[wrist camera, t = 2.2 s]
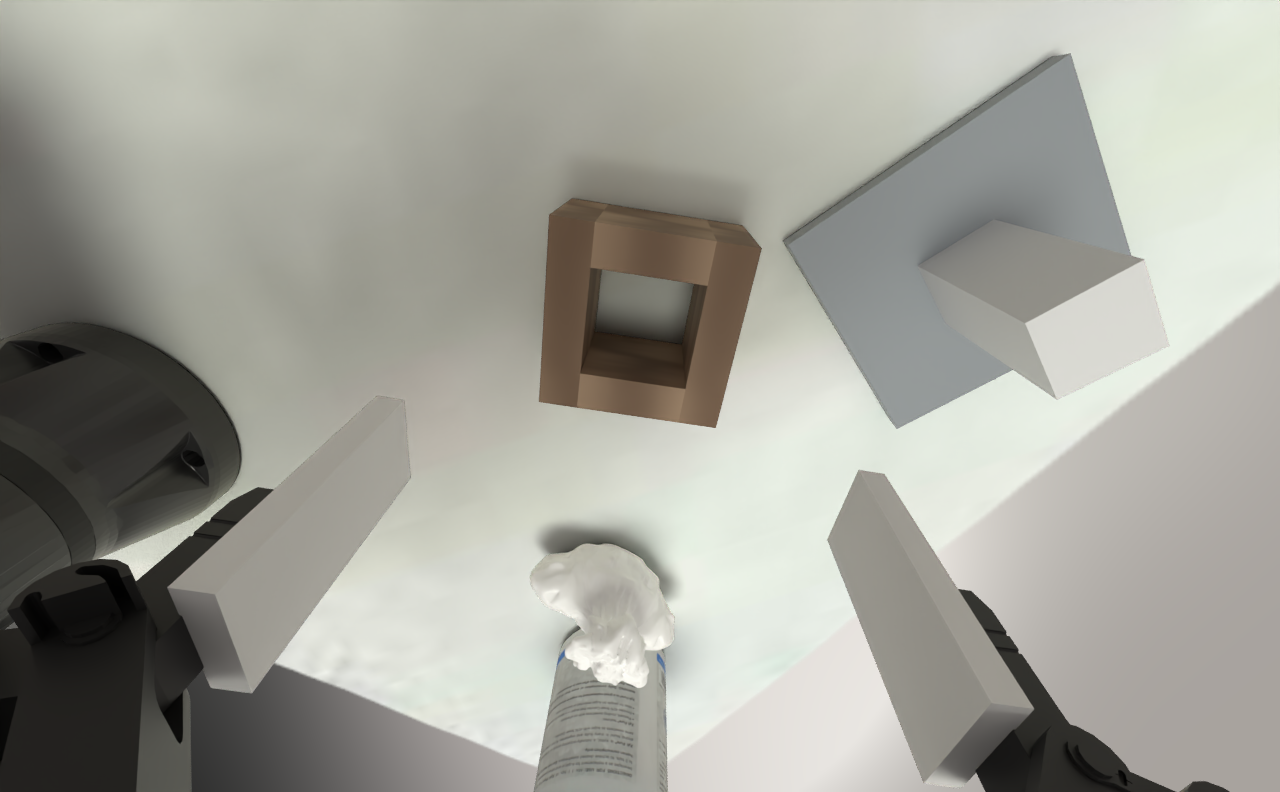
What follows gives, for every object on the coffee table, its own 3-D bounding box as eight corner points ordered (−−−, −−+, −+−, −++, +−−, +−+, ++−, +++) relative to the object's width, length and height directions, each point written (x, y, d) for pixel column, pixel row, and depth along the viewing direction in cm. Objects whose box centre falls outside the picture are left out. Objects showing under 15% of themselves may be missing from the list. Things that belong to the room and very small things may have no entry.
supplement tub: (540, 654, 46) (491, 863, 33) (602, 601, 42) (574, 813, 29) (624, 697, 48) (608, 906, 35) (689, 651, 44) (699, 865, 31)
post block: (782, 240, 27) (840, 294, 18) (1051, 57, 23) (1300, 9, 14) (889, 419, 32) (975, 529, 23) (1127, 295, 28) (1346, 373, 19)
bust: (675, 570, 43) (738, 614, 32) (636, 656, 41) (688, 733, 30) (552, 510, 40) (575, 536, 29) (505, 599, 39) (511, 662, 28)
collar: (560, 356, 31) (539, 401, 26) (571, 198, 27) (549, 214, 22) (707, 378, 32) (715, 427, 26) (742, 225, 27) (761, 248, 22)
